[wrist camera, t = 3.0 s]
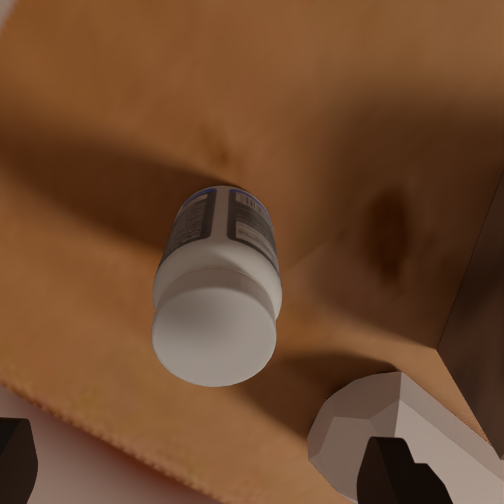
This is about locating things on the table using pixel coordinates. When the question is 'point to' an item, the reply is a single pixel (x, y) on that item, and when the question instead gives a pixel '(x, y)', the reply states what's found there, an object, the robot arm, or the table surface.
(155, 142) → the table surface
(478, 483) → the crystal
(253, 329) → the pill bottle
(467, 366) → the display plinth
